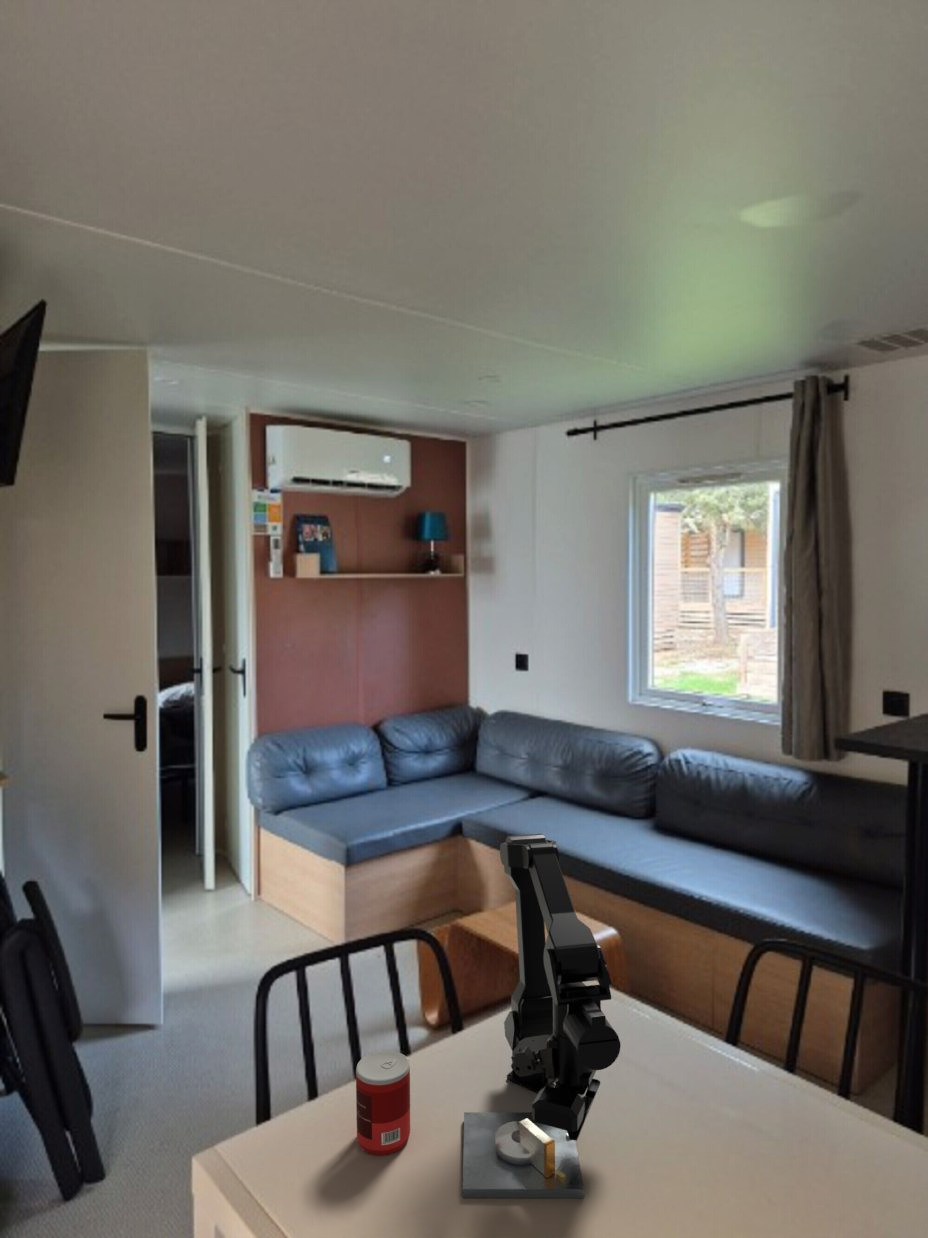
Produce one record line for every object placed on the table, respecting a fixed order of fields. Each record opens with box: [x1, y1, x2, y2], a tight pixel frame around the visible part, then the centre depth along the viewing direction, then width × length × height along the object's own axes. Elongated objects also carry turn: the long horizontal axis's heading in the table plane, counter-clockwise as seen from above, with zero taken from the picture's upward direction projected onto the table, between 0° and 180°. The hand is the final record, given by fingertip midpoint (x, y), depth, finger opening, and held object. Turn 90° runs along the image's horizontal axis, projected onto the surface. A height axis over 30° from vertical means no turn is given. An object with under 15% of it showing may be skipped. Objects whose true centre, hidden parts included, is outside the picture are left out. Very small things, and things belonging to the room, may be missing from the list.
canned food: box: [355, 1050, 411, 1156], centre depth 120 cm, size 8×8×11 cm
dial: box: [495, 1118, 555, 1178], centre depth 114 cm, size 10×7×4 cm
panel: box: [462, 1111, 585, 1199], centre depth 116 cm, size 16×16×2 cm
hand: (573, 1138), depth 114 cm, fingers closed
